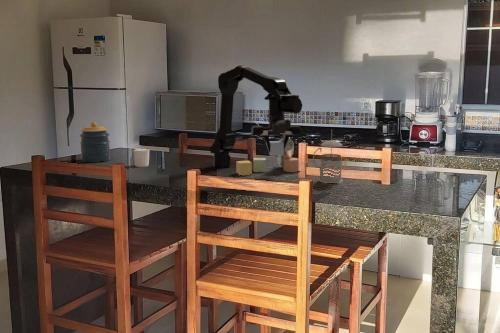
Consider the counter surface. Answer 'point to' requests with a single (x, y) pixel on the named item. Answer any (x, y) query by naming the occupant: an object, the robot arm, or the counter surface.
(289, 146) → the beer glass
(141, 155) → the white cup
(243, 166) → the ochre block
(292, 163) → the terracotta block
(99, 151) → the canister
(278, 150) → the grey cube
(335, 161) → the french press
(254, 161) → the sage block
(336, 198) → the counter surface
